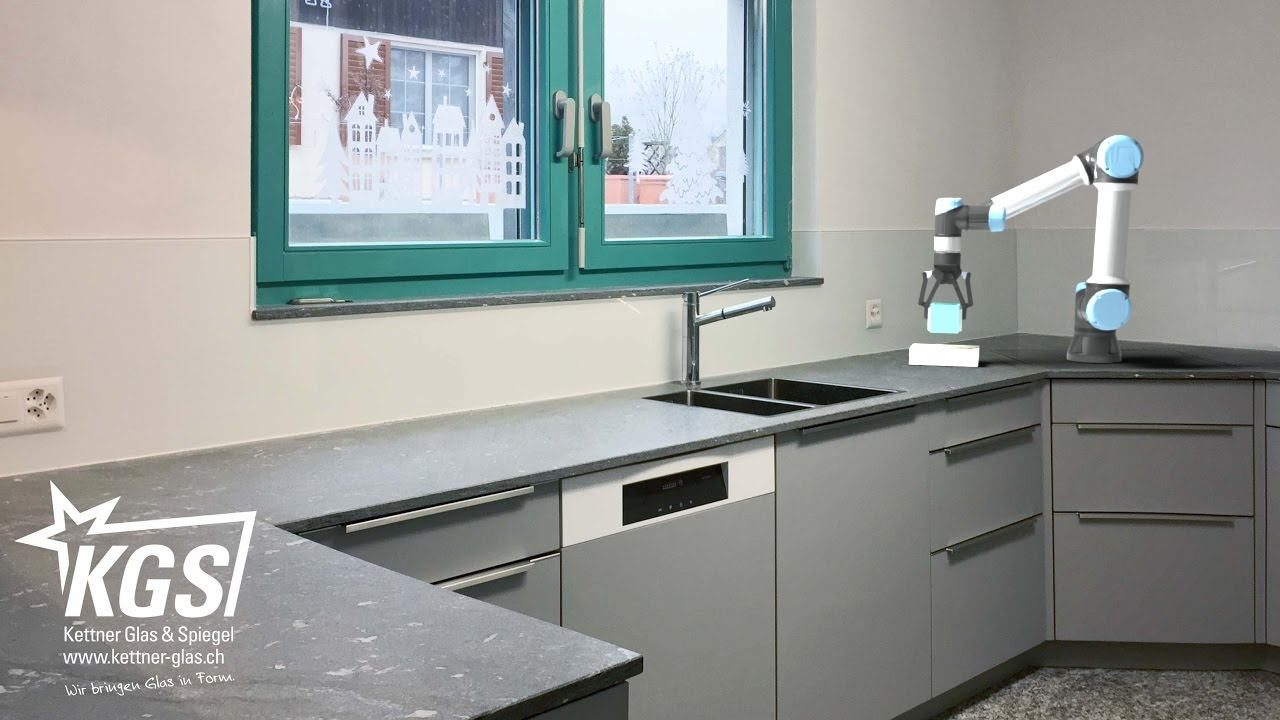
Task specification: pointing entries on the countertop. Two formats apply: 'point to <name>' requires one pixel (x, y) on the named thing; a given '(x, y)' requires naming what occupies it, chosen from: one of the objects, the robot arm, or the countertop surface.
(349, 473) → the countertop surface
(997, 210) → the robot arm
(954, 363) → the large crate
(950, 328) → the small crate
